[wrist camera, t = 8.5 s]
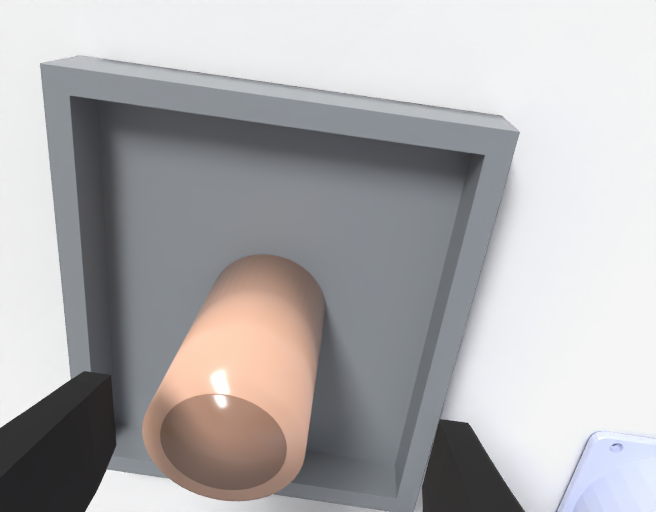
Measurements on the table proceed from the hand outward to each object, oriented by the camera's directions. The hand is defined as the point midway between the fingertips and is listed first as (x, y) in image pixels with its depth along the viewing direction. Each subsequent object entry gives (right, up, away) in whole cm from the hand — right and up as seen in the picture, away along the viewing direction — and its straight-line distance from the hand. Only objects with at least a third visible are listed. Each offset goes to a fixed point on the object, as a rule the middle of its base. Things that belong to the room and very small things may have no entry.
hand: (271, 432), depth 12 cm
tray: (-1, +2, +9) cm, 10 cm away
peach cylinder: (-1, +2, +9) cm, 9 cm away
